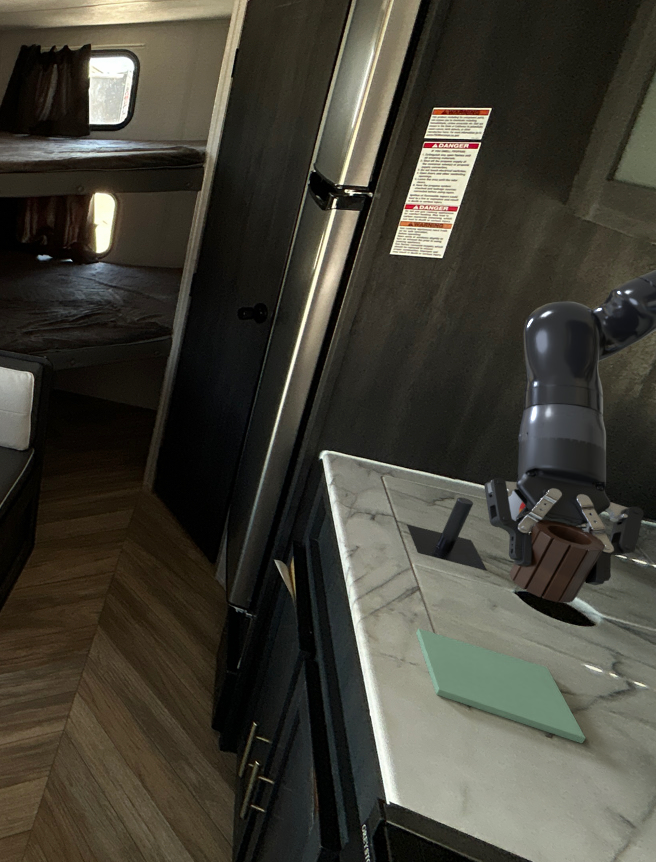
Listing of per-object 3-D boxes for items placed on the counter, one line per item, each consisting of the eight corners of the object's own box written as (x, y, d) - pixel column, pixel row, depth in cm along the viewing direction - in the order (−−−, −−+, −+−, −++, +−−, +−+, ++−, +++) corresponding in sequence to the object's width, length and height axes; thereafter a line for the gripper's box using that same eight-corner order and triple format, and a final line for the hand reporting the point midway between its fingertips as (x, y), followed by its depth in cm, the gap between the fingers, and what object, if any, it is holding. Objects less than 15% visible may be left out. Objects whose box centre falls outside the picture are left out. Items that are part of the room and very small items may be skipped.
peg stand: (467, 546, 111) (492, 494, 107) (483, 577, 104) (510, 523, 100) (403, 530, 115) (424, 480, 111) (414, 559, 108) (437, 506, 104)
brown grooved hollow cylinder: (563, 579, 80) (591, 528, 77) (582, 609, 76) (614, 556, 73) (502, 564, 83) (528, 514, 80) (518, 592, 78) (545, 540, 75)
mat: (544, 672, 87) (547, 667, 87) (582, 743, 77) (586, 738, 77) (415, 633, 93) (418, 628, 93) (436, 694, 84) (438, 689, 83)
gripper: (502, 423, 82) (495, 550, 77) (662, 452, 75) (666, 592, 70) (474, 441, 88) (466, 559, 83) (619, 469, 82) (620, 598, 77)
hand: (558, 573), depth 77 cm, fingers closed on brown grooved hollow cylinder, 5 cm apart
